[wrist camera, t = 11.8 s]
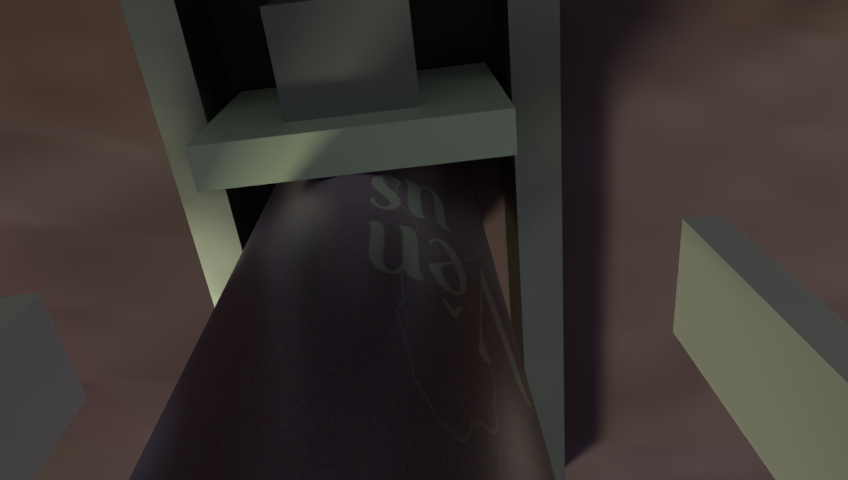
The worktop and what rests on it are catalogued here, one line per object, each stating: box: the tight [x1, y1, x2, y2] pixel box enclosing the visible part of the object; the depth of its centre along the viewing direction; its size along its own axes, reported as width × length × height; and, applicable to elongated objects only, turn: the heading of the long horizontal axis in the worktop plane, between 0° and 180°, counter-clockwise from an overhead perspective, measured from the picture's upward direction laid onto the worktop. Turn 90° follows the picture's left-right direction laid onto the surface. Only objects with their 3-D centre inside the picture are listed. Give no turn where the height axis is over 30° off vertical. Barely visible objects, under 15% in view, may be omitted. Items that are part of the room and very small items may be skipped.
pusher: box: [185, 0, 517, 192], centre depth 14 cm, size 7×3×5 cm, turn 96°
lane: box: [119, 0, 565, 480], centre depth 17 cm, size 10×23×6 cm, turn 6°
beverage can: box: [129, 162, 556, 480], centre depth 12 cm, size 6×6×15 cm
